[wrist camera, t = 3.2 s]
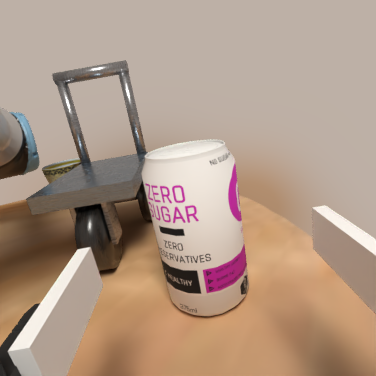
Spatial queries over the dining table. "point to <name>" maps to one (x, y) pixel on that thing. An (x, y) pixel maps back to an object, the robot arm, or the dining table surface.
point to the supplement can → (198, 225)
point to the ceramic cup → (59, 169)
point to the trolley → (97, 176)
